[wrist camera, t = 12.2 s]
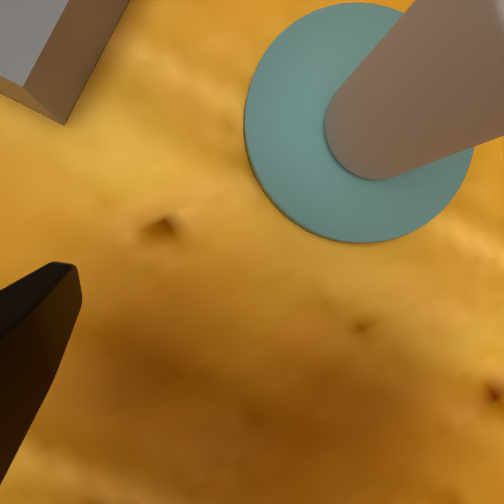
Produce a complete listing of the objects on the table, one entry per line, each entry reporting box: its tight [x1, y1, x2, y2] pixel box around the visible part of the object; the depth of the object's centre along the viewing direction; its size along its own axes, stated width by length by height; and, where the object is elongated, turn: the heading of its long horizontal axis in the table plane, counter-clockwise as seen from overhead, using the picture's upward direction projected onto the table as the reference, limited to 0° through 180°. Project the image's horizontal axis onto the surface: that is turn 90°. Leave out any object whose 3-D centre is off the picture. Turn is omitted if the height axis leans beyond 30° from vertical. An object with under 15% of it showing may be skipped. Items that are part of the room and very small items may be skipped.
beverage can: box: [325, 0, 504, 180], centre depth 14 cm, size 5×5×12 cm
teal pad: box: [244, 3, 474, 243], centre depth 20 cm, size 11×11×1 cm
